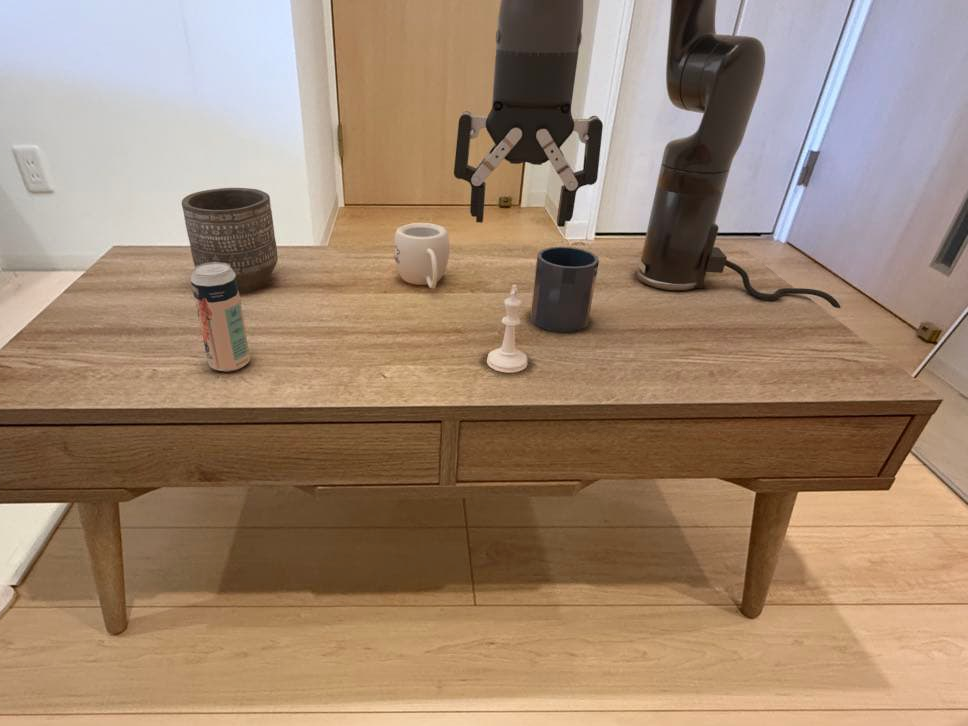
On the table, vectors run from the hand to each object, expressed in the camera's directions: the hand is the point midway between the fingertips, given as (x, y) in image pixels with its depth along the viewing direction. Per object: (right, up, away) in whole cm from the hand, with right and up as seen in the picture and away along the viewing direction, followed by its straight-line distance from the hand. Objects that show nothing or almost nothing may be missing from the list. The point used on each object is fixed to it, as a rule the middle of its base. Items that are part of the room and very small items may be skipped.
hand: (519, 222), depth 65 cm
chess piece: (0, -14, +10) cm, 17 cm away
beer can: (-33, -15, +8) cm, 38 cm away
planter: (-39, -1, +29) cm, 48 cm away
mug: (-10, -1, +30) cm, 32 cm away
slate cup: (+8, -8, +20) cm, 23 cm away
